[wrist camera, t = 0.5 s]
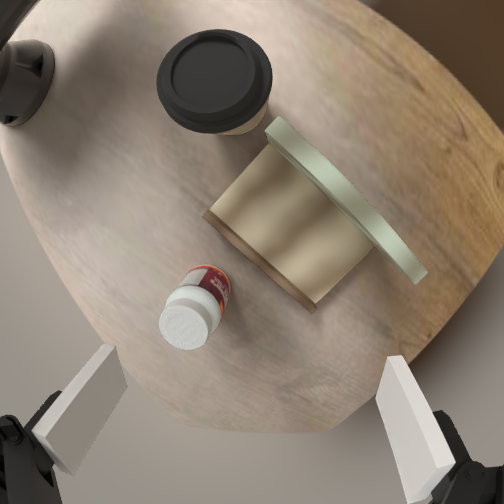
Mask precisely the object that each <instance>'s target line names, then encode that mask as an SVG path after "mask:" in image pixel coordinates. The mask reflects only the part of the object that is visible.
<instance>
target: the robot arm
mask: <svg viewBox="0 0 504 504" xmlns="http://www.w3.org/2000/svg"><path fill="white" fill-rule="evenodd" d="M39 1H40V0H0V124H2V125H8V126H17V125H20V124H22V123H24V122H26V121H27V120H28V119H29V118H30V117H31V116H32V115H33V114H34V113H35V112H36V111H37V109H38V108H39V106H40V105H41V103H42V101H43V100H44V98H45V96H46V93H47V91H48V89H49V86H50V83H51V80H52V76H53V70H54V56H53V52H52V50H51V48H50V46H49V45H47V44H46V43H43V42H41V41H38V40H23V41H14V42H8V40H9V39H10V38H11V36H12V35H13V33H14V32H15V31H16V29H17V28H18V27H19V26H20V24H21V23H22V22H23V20H24V19H25V18H26V17H27V16H28V14H29V13H30V12H31V11H32V9H33V8H34V7H35V6H36V5H37V4H38V3H39ZM126 389H127V384H126V381H125V377H124V374H123V371H122V367H121V364H120V360H119V357H118V353H117V350H116V346H112V345H106V344H103V345H102V346H101V347H100V348H99V350H98V351H97V352H96V353H95V354H94V355H93V357H92V358H91V359H90V360H89V361H88V362H87V363H86V365H85V366H84V367H83V368H82V369H81V371H80V372H79V373H78V374H77V375H76V376H75V377H74V379H73V380H72V381H71V382H70V383H69V385H68V386H67V387H66V388H65V389H64V391H63V392H62V391H57V392H55V393H54V394H52V395H50V397H49V398H48V399H47V400H46V401H45V402H44V404H43V405H42V406H41V407H40V410H38V411H37V412H36V413H35V414H34V416H33V417H32V418H31V419H30V421H29V422H28V423H27V424H26V426H25V427H24V428H23V427H22V425H21V424H20V422H19V421H18V419H17V418H16V417H15V416H13V415H5V416H2V417H0V504H62V500H61V497H60V493H59V489H58V486H57V481H56V477H55V473H54V470H53V468H52V466H53V464H54V463H55V464H56V466H57V467H58V468H59V469H60V470H61V471H62V472H65V473H67V474H69V475H71V476H74V475H75V474H76V472H77V470H78V469H79V467H80V465H81V463H82V462H83V460H84V458H85V456H86V455H87V453H88V451H89V450H90V448H91V446H92V445H93V443H94V441H95V439H96V438H97V436H98V434H99V433H100V431H101V429H102V428H103V426H104V424H105V423H106V421H107V419H108V418H109V416H110V414H111V413H112V411H113V410H114V408H115V406H116V405H117V403H118V401H119V400H120V398H121V396H122V395H123V393H124V392H125V390H126ZM376 402H377V405H378V408H379V411H380V414H381V417H382V419H383V422H384V426H385V429H386V432H387V435H388V438H389V441H390V444H391V447H392V451H393V454H394V457H395V461H396V464H397V467H398V471H399V474H400V478H401V481H402V485H403V489H404V492H405V496H406V500H407V503H408V504H410V503H413V502H417V501H421V500H424V499H426V497H427V496H428V495H429V494H430V493H431V494H432V497H433V499H432V500H431V501H430V502H429V503H428V504H504V465H503V466H499V467H488V468H487V467H484V466H483V465H482V464H481V463H479V462H477V461H472V459H471V458H470V456H469V454H468V451H467V450H466V447H465V446H464V444H463V441H462V439H461V438H460V436H459V435H458V432H457V430H456V428H454V424H453V422H452V420H451V419H450V417H449V416H448V415H447V414H446V413H445V412H443V411H442V410H440V411H435V412H432V411H431V409H430V407H429V405H428V403H427V401H426V399H425V397H424V395H423V393H422V391H421V390H420V388H419V386H418V384H417V382H416V380H415V378H414V377H413V375H412V373H411V371H410V369H409V367H408V366H407V364H406V362H405V360H404V358H403V357H402V355H400V356H389V357H387V360H386V364H385V368H384V371H383V375H382V378H381V382H380V385H379V388H378V391H377V395H376Z"/></svg>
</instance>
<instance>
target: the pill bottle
mask: <svg viewBox="0 0 504 504" xmlns="http://www.w3.org/2000/svg"><path fill="white" fill-rule="evenodd" d="M230 291H231V286H230V281H229V279H228V277H227V275H226V274H225V273H224V272H223V271H222V270H221V269H219V268H218V267H215V266H213V265H208V264H203V265H198V266H196V267H194V268H193V269H191V270H190V271H189V272H188V273H187V275H186V276H185V277H184V278H183V280H182V281H181V282H180V283H179V284H178V286H177V287H176V288H175V289H174V291H173V292H172V293H171V294H170V296H169V297H168V299H167V301H166V305H165V309H164V311H163V312H162V314H161V316H160V319H159V329H160V332H161V334H162V336H163V337H164V338H165V340H166V341H167V342H169V343H170V344H171V345H173V346H174V347H177V348H179V349H183V350H194V349H197V348H199V347H201V346H202V345H203V344H204V343H205V342H206V341H207V339H208V336H209V335H210V334H211V333H213V332H214V331H215V330H216V328H217V327H218V325H219V322H220V320H221V317H222V315H223V312H224V309H225V307H226V304H227V301H228V298H229V295H230Z"/></svg>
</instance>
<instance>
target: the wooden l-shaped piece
mask: <svg viewBox="0 0 504 504" xmlns="http://www.w3.org/2000/svg"><path fill="white" fill-rule="evenodd" d="M265 134H266V136H267V139H268V142H269V144H268V145H267V146H266V147H265V148H264V149H263V150H262V151H261V152H260V153H259V154H258V156H257V157H256V158H255V159H254V160H253V161H252V162H251V163H250V164H249V165H248V166H247V168H246V169H245V170H244V171H243V172H242V173H241V174H240V175H239V176H238V177H237V179H236V180H235V181H234V182H233V183H232V184H231V185H230V186H229V188H228V189H227V190H226V191H225V192H224V193H223V194H222V196H221V197H220V198H219V199H218V200H217V201H216V202H215V204H214V205H213V206H212V207H211V208H210V209H209V210H208V211H206V213H205V214H204V215H203V216H202V217H203V218H204V219H205V220H206V221H207V222H208V223H209V224H211V225H212V226H213V227H214V228H215V229H216V230H217V231H218V232H220V233H221V234H222V235H223V236H224V237H225V238H226V239H227V240H229V241H230V242H231V243H232V244H233V245H234V246H235V247H237V248H238V249H239V250H240V251H241V252H242V253H243V254H244V255H246V256H247V257H248V258H249V259H250V260H251V261H252V262H254V263H255V264H256V265H257V266H258V267H259V268H260V269H261V270H263V271H264V272H265V273H266V274H267V275H268V276H269V277H271V278H272V279H273V280H274V281H275V282H276V283H277V284H278V285H280V286H281V287H282V288H283V289H284V290H285V291H286V292H288V293H289V294H290V295H291V296H292V297H293V298H294V299H296V300H297V301H298V302H299V303H300V304H301V305H302V306H304V307H305V308H306V309H307V310H308V311H309V312H310V313H313V312H314V311H316V310H317V308H316V303H317V302H318V301H319V300H320V299H321V298H322V297H323V296H324V295H325V294H327V293H328V292H329V291H330V290H331V289H332V288H333V287H334V286H335V285H336V284H337V283H338V282H339V281H340V280H341V279H342V278H343V277H344V276H345V275H347V274H348V273H349V272H350V271H351V270H352V269H353V268H354V267H355V266H356V265H357V264H358V263H359V262H360V261H361V260H362V259H363V258H364V257H365V256H366V255H367V254H368V253H369V252H370V251H371V250H372V249H373V248H374V247H375V248H376V249H377V250H379V251H380V252H381V253H382V254H383V255H384V256H385V257H386V258H387V259H388V260H389V261H391V262H392V263H393V264H394V265H395V266H396V267H397V268H398V269H399V270H400V271H401V272H402V273H403V274H404V275H405V276H406V277H407V278H408V279H410V280H411V281H412V282H413V283H414V284H415V285H416V284H417V283H418V282H419V281H420V280H421V279H422V278H423V277H424V276H425V275H426V274H427V273H428V272H427V271H426V270H425V268H424V267H423V266H422V265H421V263H420V262H419V261H418V259H417V258H416V257H415V256H414V254H413V253H412V252H411V251H410V249H409V248H408V247H407V246H406V245H405V243H404V242H403V241H402V240H401V239H400V237H399V236H398V235H397V234H396V233H395V231H394V230H393V229H392V228H391V227H390V226H389V224H388V223H387V222H386V221H385V220H384V219H383V218H382V216H381V215H380V214H379V213H378V212H377V211H376V210H375V209H374V208H373V206H372V205H371V204H370V203H369V202H368V201H367V200H366V199H365V198H364V197H363V196H362V195H361V194H360V192H359V191H358V190H357V189H356V188H355V187H354V186H353V185H352V184H351V183H350V182H349V181H348V180H347V179H346V178H345V177H344V176H343V175H342V174H341V173H340V172H339V171H338V170H337V169H336V168H335V167H334V166H333V165H332V164H331V163H330V162H329V161H328V160H327V159H326V158H325V157H324V156H323V155H322V154H321V153H320V152H319V151H318V150H317V149H315V148H314V147H313V146H312V145H311V144H310V143H309V142H308V141H307V140H306V139H305V138H304V137H302V136H301V135H300V134H299V133H298V132H297V131H296V130H295V129H294V128H292V127H291V126H290V125H289V124H288V123H287V122H286V121H284V120H283V119H282V118H281V117H280V116H278V117H277V118H276V119H275V120H274V121H273V122H272V123H271V124H270V125H269V126H268V127H267V128H266V130H265Z"/></svg>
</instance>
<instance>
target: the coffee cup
mask: <svg viewBox="0 0 504 504" xmlns="http://www.w3.org/2000/svg"><path fill="white" fill-rule="evenodd" d="M272 78H273V77H272V68H271V64H270V61H269V59H268V57H267V55H266V54H265V52H264V51H263V49H262V48H261V47H260V46H259V45H258V44H257V43H256V42H255V41H254V40H252V39H251V38H249V37H247V36H245V35H243V34H241V33H238V32H235V31H231V30H223V29H214V30H206V31H202V32H198V33H195V34H193V35H190V36H188V37H186V38H185V39H183V40H182V41H180V42H179V43H177V44H176V45H175V46H174V47H173V48H172V49H171V50H170V51H169V52H168V53H167V55H166V56H165V58H164V59H163V61H162V63H161V65H160V68H159V71H158V75H157V92H158V96H159V98H160V101H161V103H162V105H163V106H164V108H165V110H166V111H167V113H168V114H169V116H170V117H171V118H172V119H173V120H174V121H175V122H177V123H178V124H179V125H181V126H183V127H184V128H187V129H189V130H192V131H195V132H199V133H209V134H223V135H238V134H244V133H246V132H249V131H251V130H252V129H254V128H255V127H256V126H257V125H258V124H259V123H260V121H261V120H262V118H263V116H264V114H265V111H266V108H267V104H268V99H269V95H270V91H271V87H272Z"/></svg>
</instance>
